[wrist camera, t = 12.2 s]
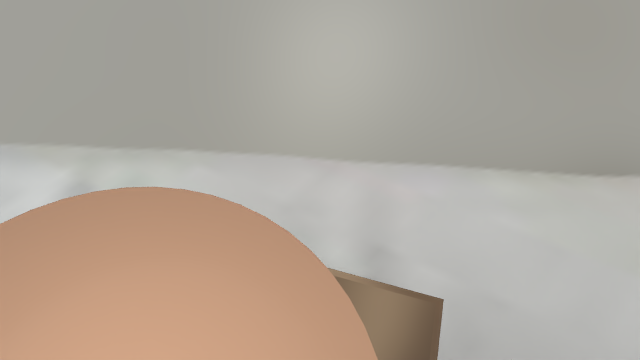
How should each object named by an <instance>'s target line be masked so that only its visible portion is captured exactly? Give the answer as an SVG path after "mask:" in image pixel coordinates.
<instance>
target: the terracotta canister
mask: <svg viewBox="0 0 640 360" xmlns="http://www.w3.org/2000/svg"><path fill="white" fill-rule="evenodd" d="M0 360H378V359H377V356H376V354H375V351H374V348H373V346H372V343H371V341H370V338H369V336H368V333H367V331H366V328H365V326H364V324H363V322H362V320H361V319H360V317H359V315H358V313H357V311H356V309H355V307H354V306H353V304H352V302H351V300H350V298H349V297H348V295H347V294H346V293H345V291H344V290H343V288H342V287H341V285H340V284H339V283H338V281H337V280H336V278H335V277H334V276H333V274H332V273H331V272H330V271H329V270H328V268H327V267H326V266H325V265H324V264H323V263H322V262H321V261H320V260H319V259H318V258H317V257H316V255H315V254H314V253H313V252H312V251H311V250H310V249H309V248H307V247H306V246H305V245H304V244H303V243H301V242H300V241H299V240H298V239H297V238H295V237H294V236H293V235H292V234H291V233H290V232H288V231H287V230H285V229H284V228H282V227H280V226H279V225H277V224H276V223H274V222H273V221H271V220H270V219H268V218H266V217H265V216H263V215H261V214H259V213H257V212H254V211H252V210H250V209H248V208H246V207H244V206H242V205H240V204H237V203H234V202H231V201H228V200H225V199H222V198H219V197H216V196H213V195H209V194H204V193H199V192H194V191H189V190H185V189H173V188H162V187H130V188H119V189H111V190H103V191H96V192H91V193H87V194H82V195H78V196H74V197H70V198H65V199H62V200H59V201H56V202H53V203H50V204H47V205H44V206H41V207H38V208H35V209H33V210H30V211H28V212H25V213H23V214H21V215H19V216H17V217H14V218H12V219H10V220H8V221H6V222H3V223H1V224H0Z"/></svg>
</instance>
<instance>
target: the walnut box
mask: <svg viewBox="0 0 640 360" xmlns="http://www.w3.org/2000/svg"><path fill="white" fill-rule="evenodd" d="M328 270H329V271H330V272H331V273H332V274H333V276H334V277H335V278H336V280H337V281H338V283H339V284H340V285H341V287H342V288H343V290H344V291H345V293H346V294H347V295H348V297H349V298H350V300H351V302H352V304H353V306H354V307H355V309H356V311H357V313H358V315H359V317H360V319H361V320H362V322H363V324H364V326H365V328H366V331H367V333H368V336H369V338H370V341H371V343H372V346H373V348H374V351H375V354H376V356H377V359H378V360H437V356H438V347H439V337H440V328H441V319H442V309H443V300H444V299H440V298H436V297H433V296H429V295H425V294H422V293H418V292H414V291H411V290H407V289H403V288H400V287H396V286H392V285H389V284H385V283H381V282H378V281H374V280H370V279H367V278H363V277H359V276H356V275H352V274H348V273H345V272H341V271H337V270H334V269H330V268H328Z"/></svg>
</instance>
